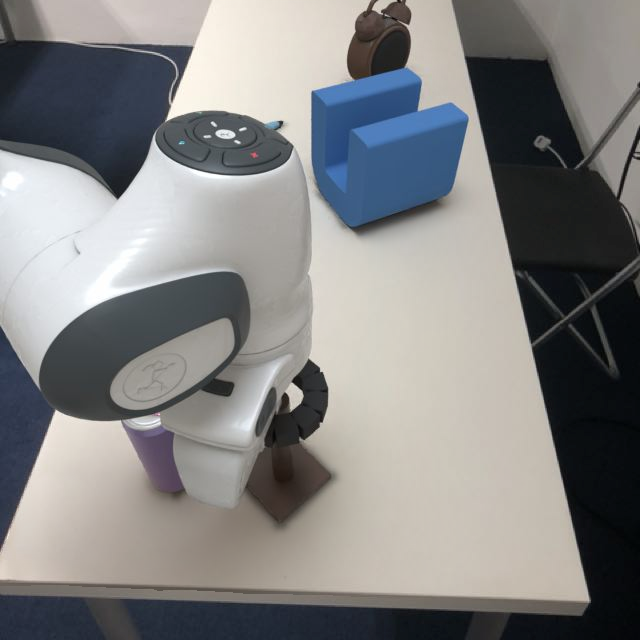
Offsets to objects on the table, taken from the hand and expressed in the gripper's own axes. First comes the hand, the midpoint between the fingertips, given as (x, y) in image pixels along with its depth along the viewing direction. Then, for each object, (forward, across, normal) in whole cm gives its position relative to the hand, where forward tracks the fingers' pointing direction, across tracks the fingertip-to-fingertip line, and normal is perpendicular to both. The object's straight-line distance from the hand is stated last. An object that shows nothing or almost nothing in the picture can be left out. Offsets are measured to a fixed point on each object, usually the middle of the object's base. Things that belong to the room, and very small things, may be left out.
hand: (263, 426), depth 52 cm
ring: (+2, -4, 0) cm, 4 cm away
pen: (+18, -69, -31) cm, 77 cm away
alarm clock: (+18, -97, -10) cm, 99 cm away
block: (+18, -60, -1) cm, 63 cm away
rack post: (+18, -4, 0) cm, 19 cm away
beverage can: (+18, -1, -13) cm, 22 cm away
